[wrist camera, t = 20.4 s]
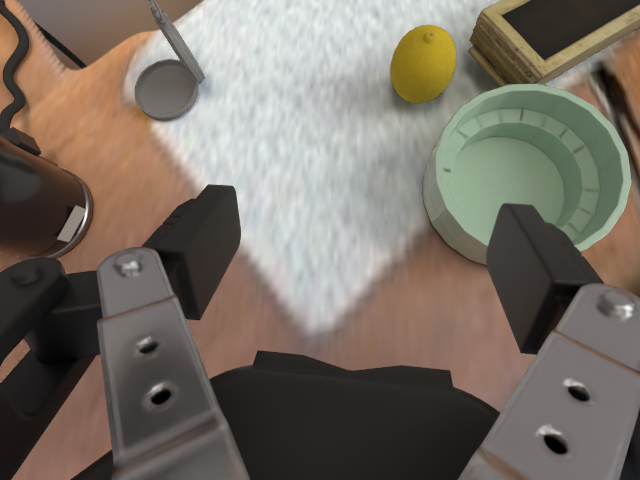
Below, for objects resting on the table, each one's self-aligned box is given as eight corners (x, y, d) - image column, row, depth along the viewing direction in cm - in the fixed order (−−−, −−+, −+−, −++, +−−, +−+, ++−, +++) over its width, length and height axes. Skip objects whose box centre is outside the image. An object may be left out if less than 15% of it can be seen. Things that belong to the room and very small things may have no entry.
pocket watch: (128, 109, 40) (55, 41, 30) (166, 43, 41) (108, -42, 31) (194, 136, 38) (140, 75, 29) (231, 68, 40) (192, -13, 30)
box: (453, 56, 36) (477, 11, 31) (607, -34, 41) (648, -85, 36) (510, 119, 35) (545, 82, 30) (664, 18, 39) (715, -28, 35)
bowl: (391, 176, 36) (398, 149, 30) (510, 94, 36) (541, 52, 31) (489, 301, 33) (519, 297, 27) (617, 209, 33) (673, 186, 28)
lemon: (387, 119, 37) (397, 67, 29) (385, 69, 38) (394, 6, 30) (445, 117, 37) (470, 63, 29) (441, 66, 38) (465, 1, 30)
